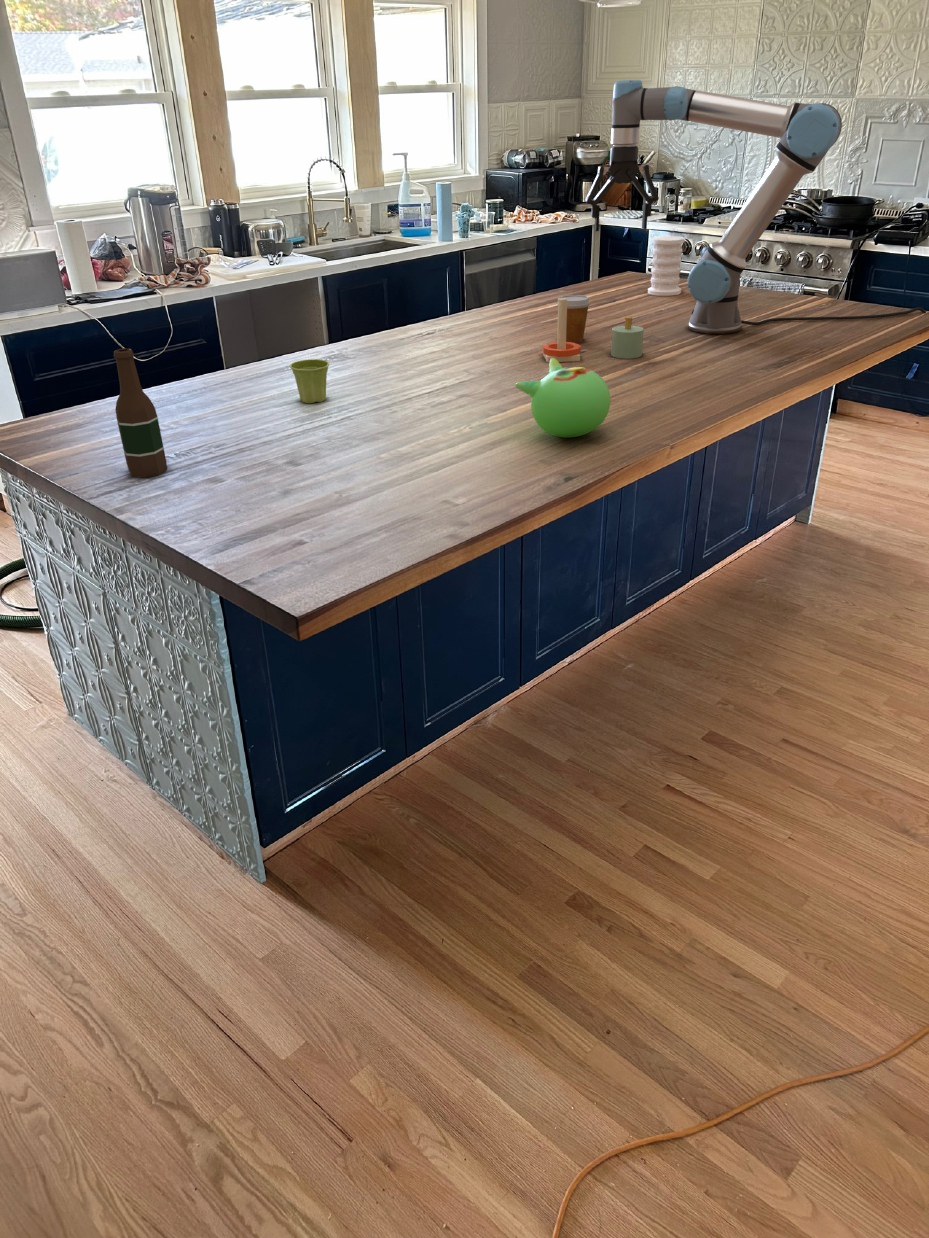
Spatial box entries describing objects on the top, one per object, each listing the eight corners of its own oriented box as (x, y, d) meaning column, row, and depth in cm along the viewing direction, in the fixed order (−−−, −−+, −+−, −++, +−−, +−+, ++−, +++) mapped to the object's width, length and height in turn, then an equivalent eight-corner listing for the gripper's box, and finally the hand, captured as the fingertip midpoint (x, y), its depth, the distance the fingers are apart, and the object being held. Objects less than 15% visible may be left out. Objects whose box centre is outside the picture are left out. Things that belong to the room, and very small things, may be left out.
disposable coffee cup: (588, 336, 273) (589, 294, 267) (589, 344, 265) (590, 301, 259) (556, 337, 274) (556, 294, 268) (555, 344, 266) (556, 301, 260)
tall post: (575, 353, 257) (576, 295, 249) (580, 361, 249) (582, 301, 241) (542, 354, 256) (543, 296, 249) (547, 362, 248) (547, 303, 241)
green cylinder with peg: (638, 350, 257) (640, 313, 252) (645, 358, 250) (647, 320, 245) (608, 351, 257) (610, 314, 252) (614, 359, 249) (616, 321, 244)
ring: (576, 347, 256) (576, 341, 255) (582, 356, 248) (582, 349, 247) (541, 348, 256) (541, 342, 255) (545, 357, 247) (545, 351, 246)
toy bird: (585, 453, 186) (587, 380, 179) (512, 440, 194) (511, 370, 187) (621, 427, 199) (625, 359, 192) (551, 416, 207) (552, 350, 200)
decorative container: (647, 295, 323) (651, 240, 314) (647, 289, 333) (651, 236, 324) (681, 296, 321) (686, 240, 312) (680, 289, 331) (684, 235, 322)
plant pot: (339, 395, 227) (336, 360, 222) (322, 407, 219) (318, 370, 215) (305, 393, 230) (301, 358, 225) (287, 404, 222) (282, 368, 218)
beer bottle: (133, 465, 188) (106, 346, 176) (171, 463, 188) (148, 344, 176) (124, 479, 181) (96, 356, 169) (164, 477, 181) (139, 354, 169)
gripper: (666, 143, 254) (660, 226, 265) (576, 146, 254) (574, 229, 264) (673, 144, 248) (667, 229, 259) (581, 148, 247) (578, 233, 258)
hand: (620, 229), depth 261 cm, fingers open, 13 cm apart
